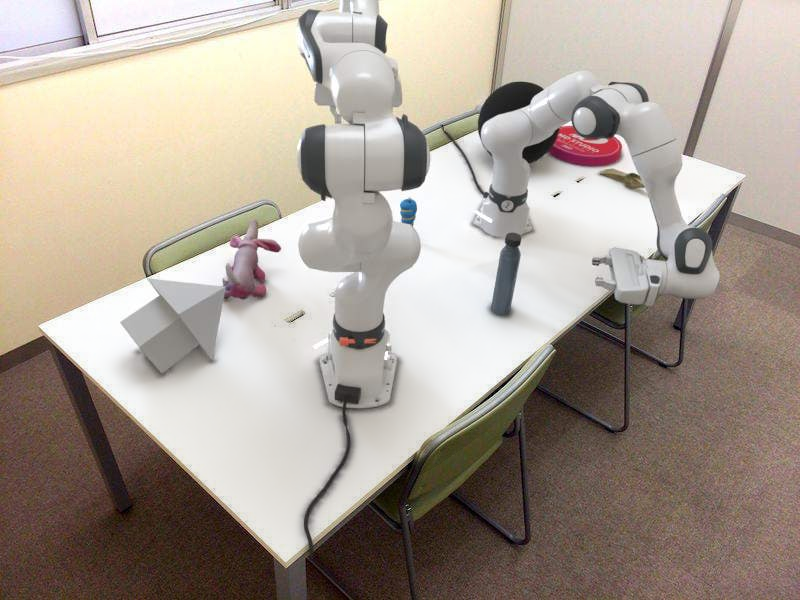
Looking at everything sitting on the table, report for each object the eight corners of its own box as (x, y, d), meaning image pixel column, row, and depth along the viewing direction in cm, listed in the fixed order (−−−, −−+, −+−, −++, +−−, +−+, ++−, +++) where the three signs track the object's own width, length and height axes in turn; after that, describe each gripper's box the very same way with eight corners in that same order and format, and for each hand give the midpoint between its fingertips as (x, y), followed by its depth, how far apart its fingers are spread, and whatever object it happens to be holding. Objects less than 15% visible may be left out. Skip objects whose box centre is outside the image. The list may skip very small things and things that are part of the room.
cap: (501, 241, 166) (502, 234, 165) (513, 237, 168) (514, 230, 166) (511, 249, 163) (512, 242, 162) (523, 245, 165) (524, 238, 164)
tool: (597, 174, 249) (599, 163, 246) (610, 171, 251) (612, 160, 248) (638, 197, 232) (641, 185, 229) (652, 193, 234) (655, 182, 231)
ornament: (395, 240, 203) (397, 197, 194) (403, 233, 207) (405, 190, 198) (410, 245, 201) (413, 202, 192) (417, 237, 205) (420, 195, 196)
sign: (588, 172, 247) (635, 153, 263) (590, 164, 245) (637, 145, 261) (529, 144, 265) (575, 128, 281) (530, 136, 263) (577, 120, 278)
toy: (299, 270, 187) (288, 223, 179) (243, 315, 171) (228, 266, 163) (250, 258, 196) (238, 213, 188) (193, 300, 180) (176, 253, 172)
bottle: (487, 307, 179) (498, 235, 165) (501, 301, 181) (514, 230, 167) (498, 317, 176) (512, 245, 162) (513, 312, 178) (528, 240, 164)
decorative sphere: (465, 170, 243) (475, 91, 225) (481, 139, 266) (491, 65, 248) (546, 185, 237) (563, 105, 219) (556, 152, 260) (571, 77, 242)
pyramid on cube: (256, 326, 161) (227, 278, 148) (174, 389, 154) (136, 344, 140) (223, 293, 171) (193, 245, 157) (145, 351, 164) (106, 305, 150)
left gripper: (311, 67, 142) (313, 127, 151) (404, 69, 144) (401, 129, 153) (312, 58, 147) (314, 117, 156) (402, 60, 149) (399, 118, 158)
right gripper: (646, 244, 172) (592, 239, 173) (659, 290, 156) (600, 283, 157) (640, 264, 176) (587, 258, 177) (652, 311, 160) (594, 304, 161)
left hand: (358, 123), depth 154 cm, fingers open, 8 cm apart
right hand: (593, 270), depth 167 cm, fingers open, 8 cm apart
